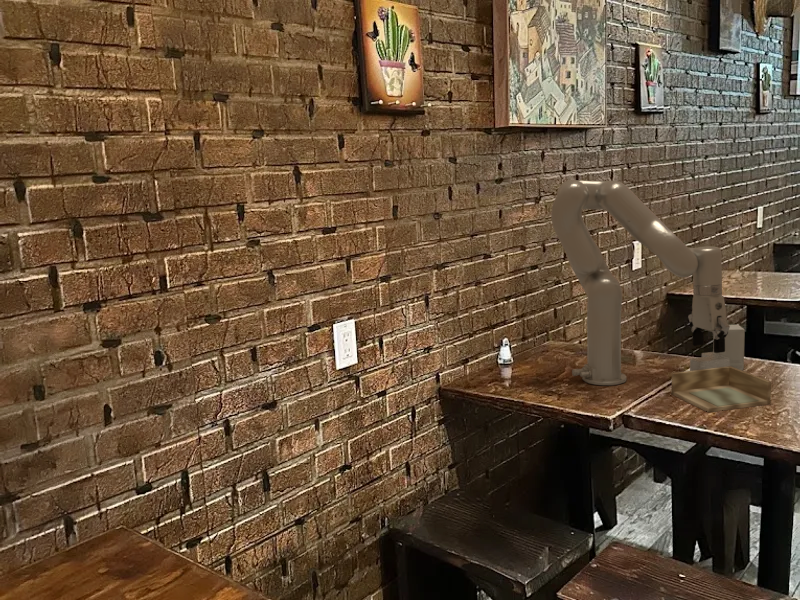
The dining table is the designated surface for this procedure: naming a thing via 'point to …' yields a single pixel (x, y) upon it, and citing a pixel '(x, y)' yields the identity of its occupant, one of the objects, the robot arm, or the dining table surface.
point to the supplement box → (734, 346)
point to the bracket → (709, 361)
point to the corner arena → (721, 388)
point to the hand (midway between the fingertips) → (708, 348)
